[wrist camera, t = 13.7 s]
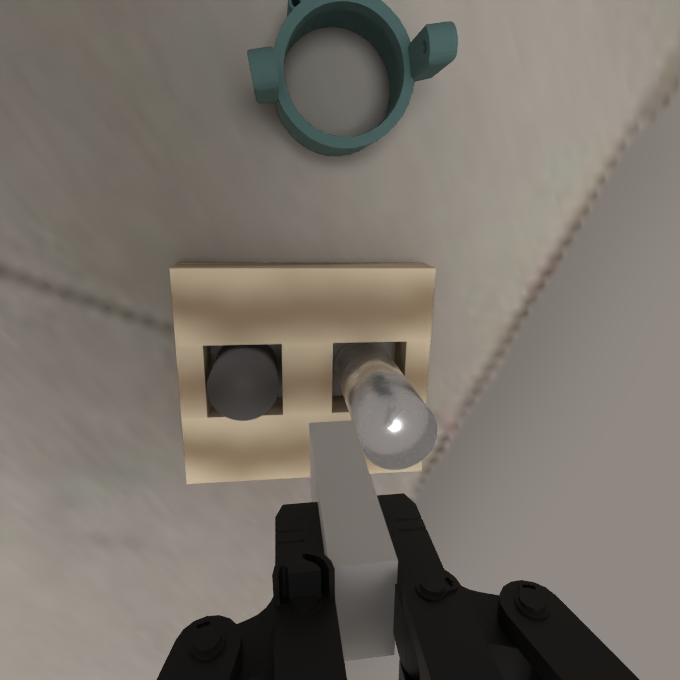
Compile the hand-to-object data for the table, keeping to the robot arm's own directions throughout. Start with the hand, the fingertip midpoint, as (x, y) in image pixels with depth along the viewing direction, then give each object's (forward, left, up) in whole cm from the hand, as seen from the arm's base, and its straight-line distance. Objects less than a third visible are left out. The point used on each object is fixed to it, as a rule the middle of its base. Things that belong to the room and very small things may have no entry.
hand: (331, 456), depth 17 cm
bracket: (-16, +2, -21) cm, 27 cm away
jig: (+4, 0, -21) cm, 21 cm away
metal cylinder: (+4, +5, -21) cm, 22 cm away
